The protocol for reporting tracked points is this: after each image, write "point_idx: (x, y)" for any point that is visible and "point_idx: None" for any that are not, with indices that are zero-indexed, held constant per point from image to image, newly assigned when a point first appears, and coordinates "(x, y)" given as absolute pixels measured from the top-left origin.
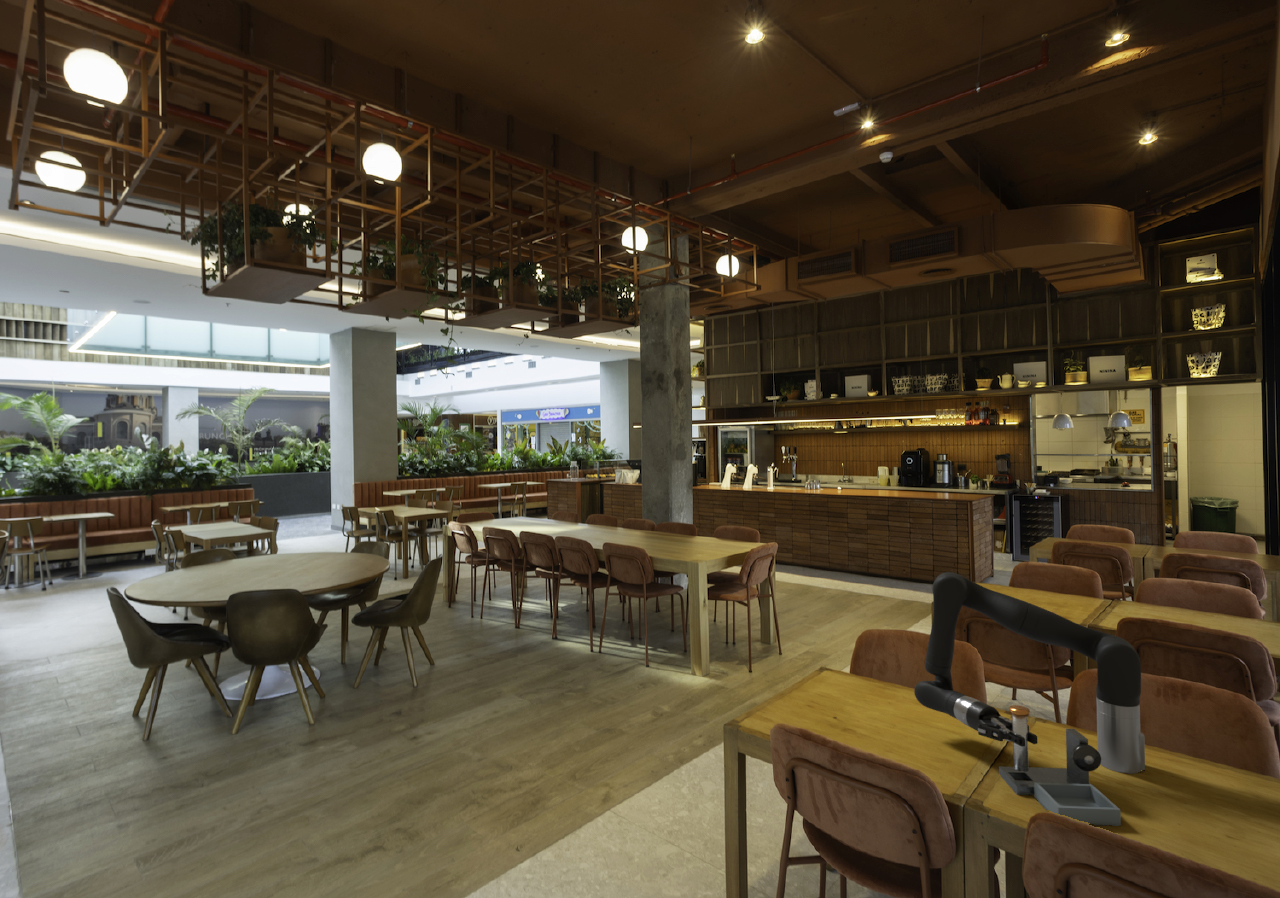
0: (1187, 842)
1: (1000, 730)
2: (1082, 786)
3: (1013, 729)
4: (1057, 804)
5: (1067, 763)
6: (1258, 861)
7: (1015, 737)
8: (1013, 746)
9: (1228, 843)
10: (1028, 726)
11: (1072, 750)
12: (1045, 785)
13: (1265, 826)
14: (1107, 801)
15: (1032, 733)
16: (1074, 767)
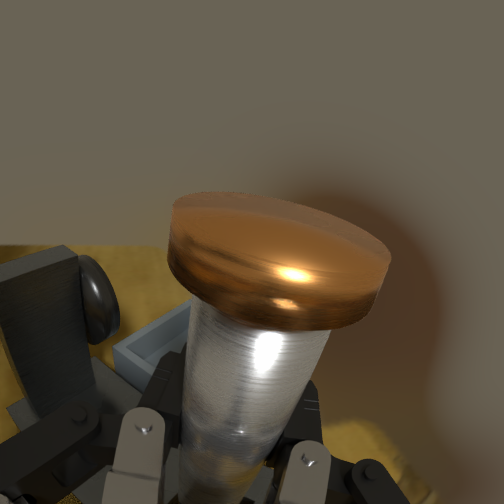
0: (151, 280)
1: (372, 467)
2: (139, 358)
3: (290, 416)
4: None
5: (33, 396)
6: (136, 249)
7: (313, 401)
8: (251, 482)
9: (115, 260)
10: (76, 403)
11: (98, 305)
12: None
13: (44, 246)
14: (176, 314)
15: (178, 359)
16: (65, 371)
